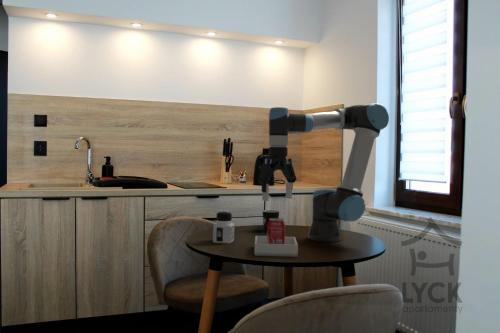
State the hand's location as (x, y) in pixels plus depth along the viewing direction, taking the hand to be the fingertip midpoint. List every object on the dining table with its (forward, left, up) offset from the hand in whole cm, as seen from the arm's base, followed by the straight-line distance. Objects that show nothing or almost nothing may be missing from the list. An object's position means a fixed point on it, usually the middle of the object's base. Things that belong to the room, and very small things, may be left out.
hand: (277, 199), depth 183 cm
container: (+23, -17, -21) cm, 35 cm away
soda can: (0, 0, -20) cm, 20 cm away
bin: (0, 0, -21) cm, 21 cm away
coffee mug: (+2, -49, -21) cm, 53 cm away
